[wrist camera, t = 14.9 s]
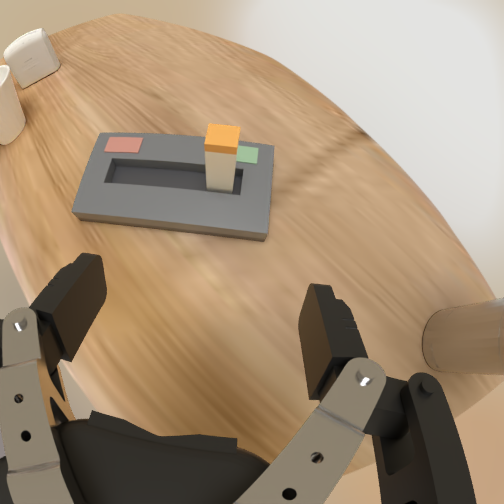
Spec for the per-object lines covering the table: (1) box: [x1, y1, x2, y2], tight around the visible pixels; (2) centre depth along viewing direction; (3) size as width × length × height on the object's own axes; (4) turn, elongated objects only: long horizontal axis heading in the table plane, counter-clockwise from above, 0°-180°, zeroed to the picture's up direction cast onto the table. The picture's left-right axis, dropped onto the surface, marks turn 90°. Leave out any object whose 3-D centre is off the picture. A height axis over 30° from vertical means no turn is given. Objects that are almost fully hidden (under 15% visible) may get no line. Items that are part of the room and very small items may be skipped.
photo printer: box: [4, 28, 60, 89], centre depth 34 cm, size 10×4×12 cm, turn 112°
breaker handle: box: [204, 124, 240, 194], centre depth 30 cm, size 3×2×10 cm
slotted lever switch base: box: [71, 133, 274, 242], centre depth 34 cm, size 24×12×3 cm, turn 85°
